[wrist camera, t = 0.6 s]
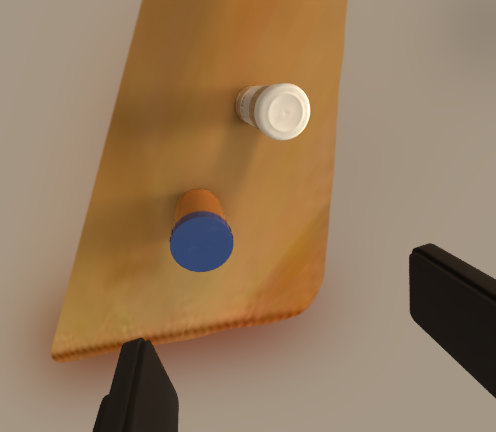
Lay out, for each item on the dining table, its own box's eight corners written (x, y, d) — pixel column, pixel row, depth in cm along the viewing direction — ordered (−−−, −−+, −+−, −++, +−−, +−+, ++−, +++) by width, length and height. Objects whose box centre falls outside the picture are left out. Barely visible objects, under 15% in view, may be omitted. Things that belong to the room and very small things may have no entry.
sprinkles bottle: (262, 129, 37) (298, 148, 25) (229, 116, 36) (250, 131, 24) (275, 93, 36) (320, 95, 24) (241, 78, 34) (271, 73, 22)
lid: (168, 211, 31) (167, 218, 29) (232, 209, 32) (234, 215, 31) (172, 266, 34) (171, 274, 32) (231, 262, 35) (233, 270, 33)
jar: (173, 189, 38) (170, 218, 30) (222, 188, 39) (231, 215, 31) (176, 232, 41) (174, 270, 32) (222, 230, 42) (230, 266, 34)
